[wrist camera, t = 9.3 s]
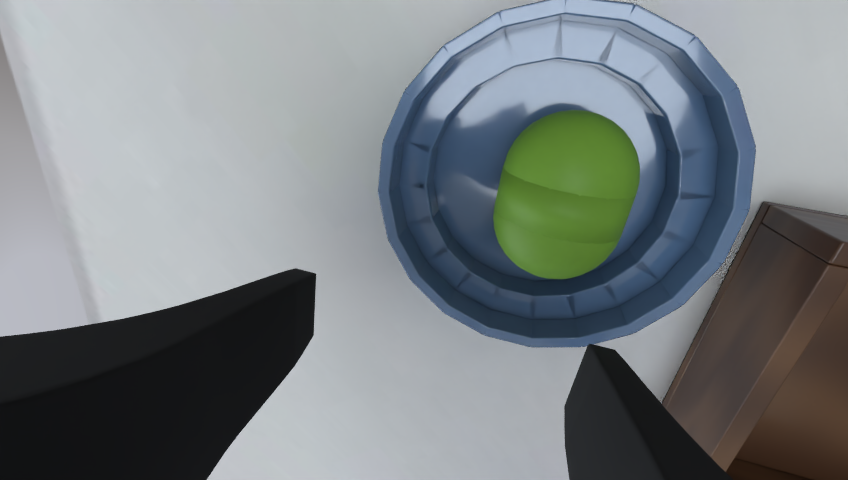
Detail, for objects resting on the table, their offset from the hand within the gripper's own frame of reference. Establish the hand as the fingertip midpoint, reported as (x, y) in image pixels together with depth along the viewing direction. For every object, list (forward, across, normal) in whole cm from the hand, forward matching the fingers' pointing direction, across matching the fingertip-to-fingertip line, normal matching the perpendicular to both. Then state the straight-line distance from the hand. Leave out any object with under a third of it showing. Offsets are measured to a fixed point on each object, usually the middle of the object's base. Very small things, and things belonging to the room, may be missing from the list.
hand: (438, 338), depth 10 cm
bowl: (+10, -2, -2) cm, 10 cm away
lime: (+7, -3, -3) cm, 8 cm away
